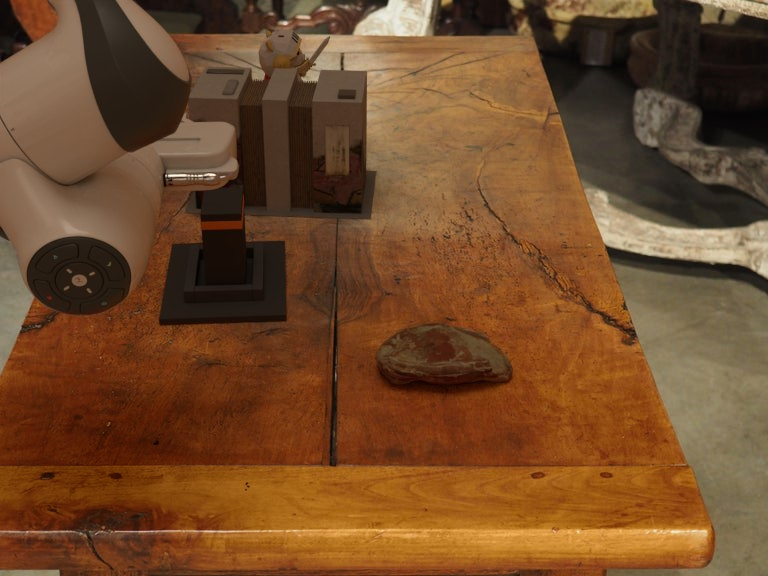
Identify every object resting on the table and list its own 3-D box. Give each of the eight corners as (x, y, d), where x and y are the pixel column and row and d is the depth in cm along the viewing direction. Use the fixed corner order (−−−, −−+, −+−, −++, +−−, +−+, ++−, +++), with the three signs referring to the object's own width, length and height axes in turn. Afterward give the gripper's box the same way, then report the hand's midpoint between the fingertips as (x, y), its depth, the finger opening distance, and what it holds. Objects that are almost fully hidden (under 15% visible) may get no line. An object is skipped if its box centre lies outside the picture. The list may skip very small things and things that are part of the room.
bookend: (370, 219, 142) (372, 102, 134) (183, 213, 143) (173, 97, 135) (376, 170, 156) (377, 62, 148) (205, 165, 157) (197, 57, 149)
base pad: (159, 325, 119) (157, 307, 117) (172, 249, 134) (171, 232, 133) (286, 320, 120) (285, 303, 119) (284, 245, 135) (284, 229, 134)
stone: (481, 334, 118) (483, 310, 117) (517, 383, 110) (519, 357, 108) (364, 351, 115) (365, 326, 113) (392, 403, 106) (393, 377, 105)
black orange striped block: (205, 293, 123) (199, 214, 118) (209, 263, 129) (203, 187, 124) (246, 291, 124) (241, 213, 119) (247, 262, 130) (243, 186, 125)
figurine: (312, 140, 166) (311, 45, 158) (241, 134, 167) (236, 40, 160) (330, 111, 177) (330, 21, 169) (263, 105, 178) (259, 16, 171)
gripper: (236, 145, 86) (240, 86, 98) (-26, 150, 84) (10, 89, 96) (239, 215, 89) (243, 150, 101) (-13, 221, 88) (21, 154, 99)
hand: (128, 121), depth 99 cm, fingers open, 8 cm apart
